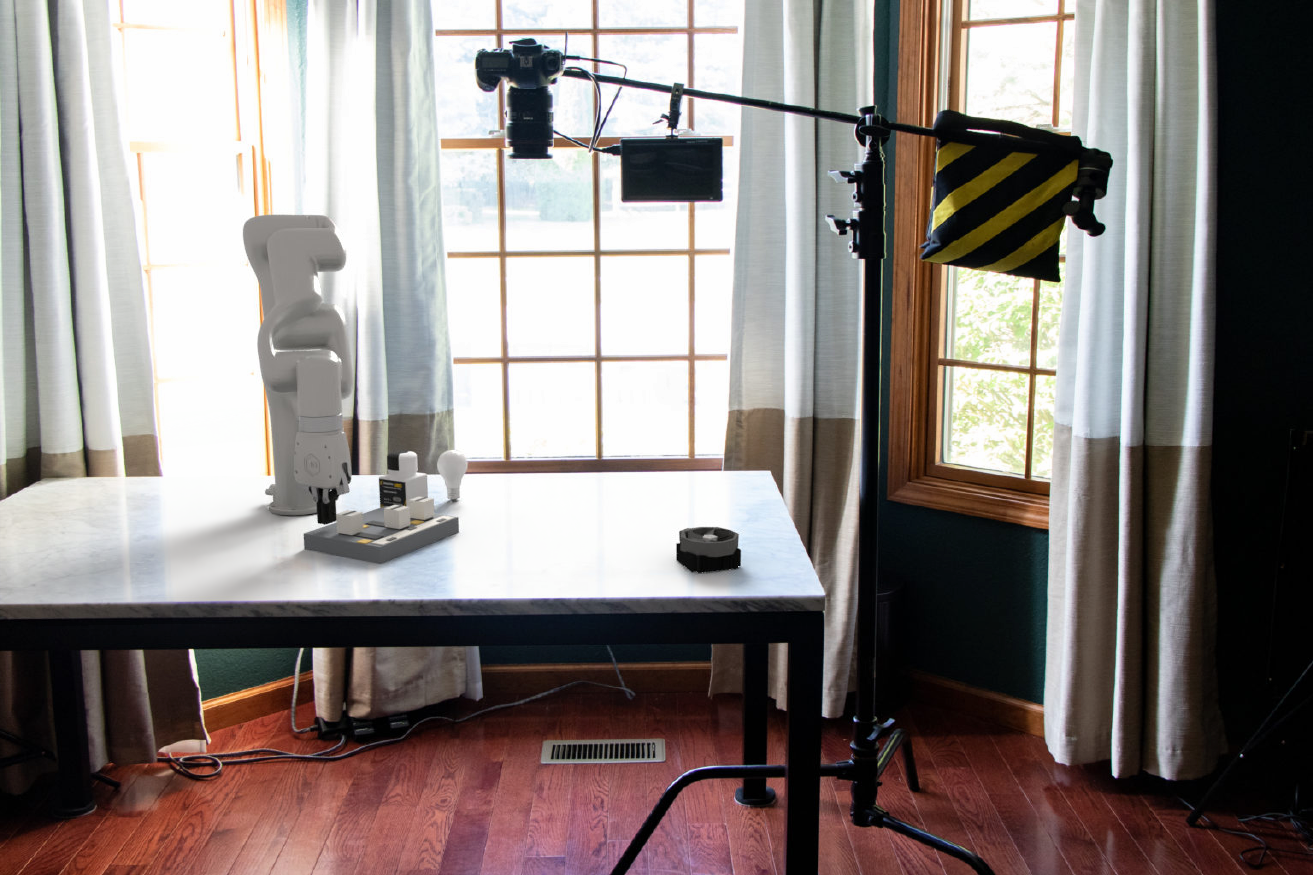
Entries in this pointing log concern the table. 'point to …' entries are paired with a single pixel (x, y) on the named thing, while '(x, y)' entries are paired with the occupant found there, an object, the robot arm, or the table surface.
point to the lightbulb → (452, 471)
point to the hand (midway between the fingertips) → (327, 522)
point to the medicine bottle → (402, 480)
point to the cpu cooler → (708, 549)
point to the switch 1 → (349, 522)
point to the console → (380, 537)
